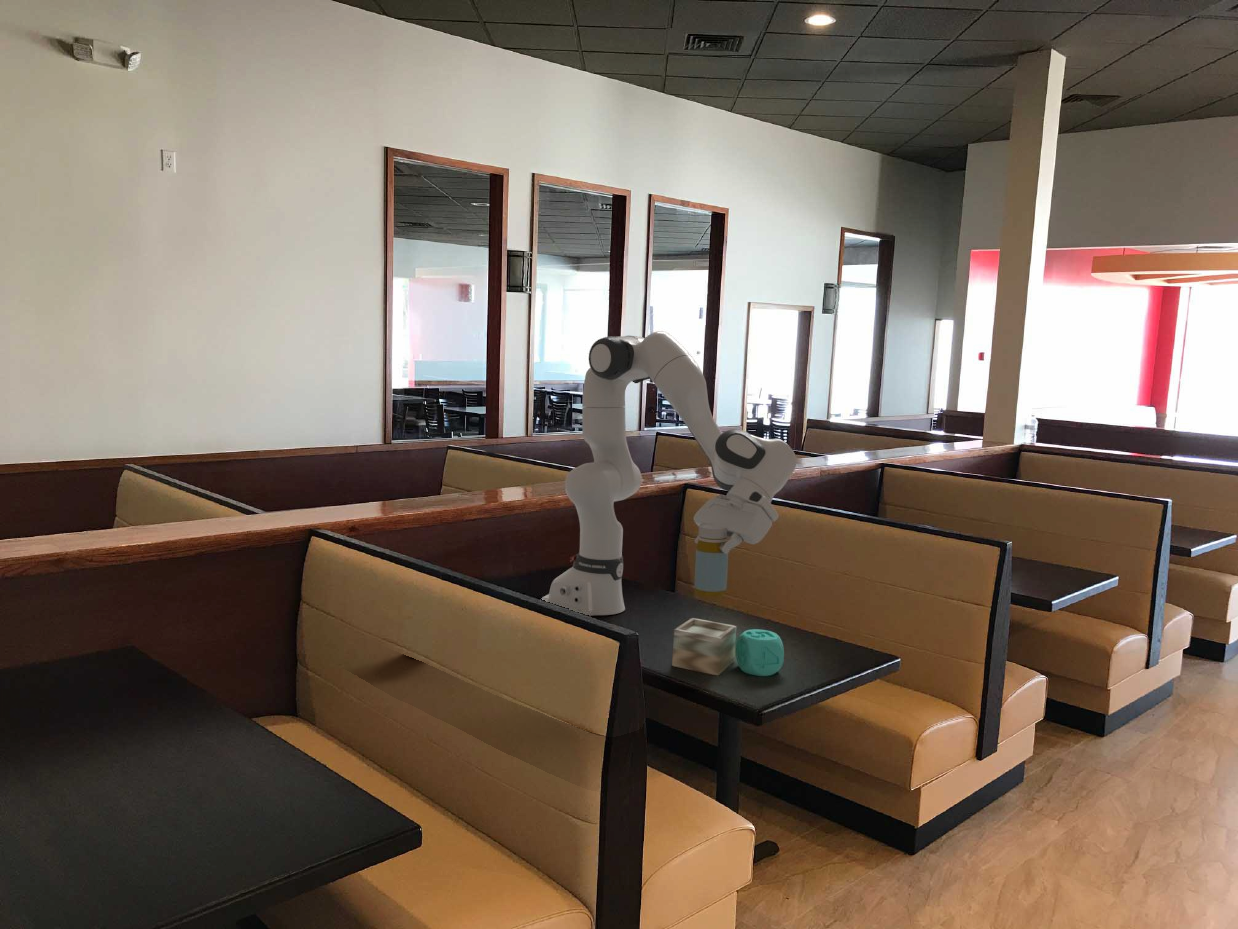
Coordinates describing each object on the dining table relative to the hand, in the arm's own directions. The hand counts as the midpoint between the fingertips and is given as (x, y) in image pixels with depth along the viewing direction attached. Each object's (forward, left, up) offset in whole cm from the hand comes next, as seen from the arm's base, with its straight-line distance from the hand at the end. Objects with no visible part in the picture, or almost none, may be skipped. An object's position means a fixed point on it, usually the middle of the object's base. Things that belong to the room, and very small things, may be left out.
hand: (709, 547), depth 202 cm
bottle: (+1, +1, -10) cm, 10 cm away
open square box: (+1, -1, -26) cm, 26 cm away
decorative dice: (+12, +3, -26) cm, 29 cm away
